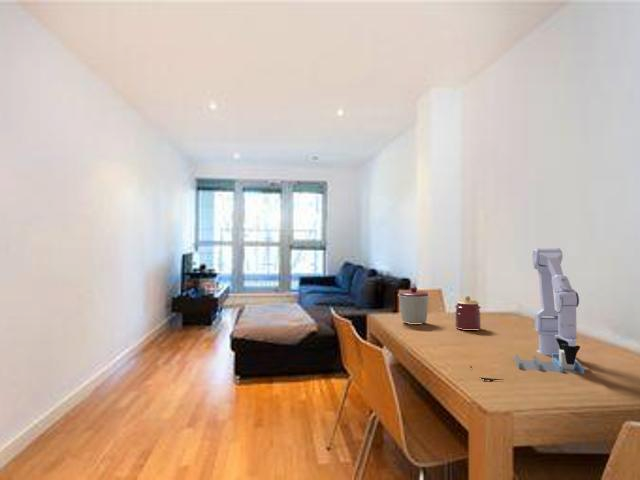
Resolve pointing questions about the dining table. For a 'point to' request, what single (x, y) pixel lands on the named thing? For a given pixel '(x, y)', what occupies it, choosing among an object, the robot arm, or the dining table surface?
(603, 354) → the dining table surface
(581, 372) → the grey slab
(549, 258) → the robot arm
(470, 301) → the canister
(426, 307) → the canister
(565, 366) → the block
